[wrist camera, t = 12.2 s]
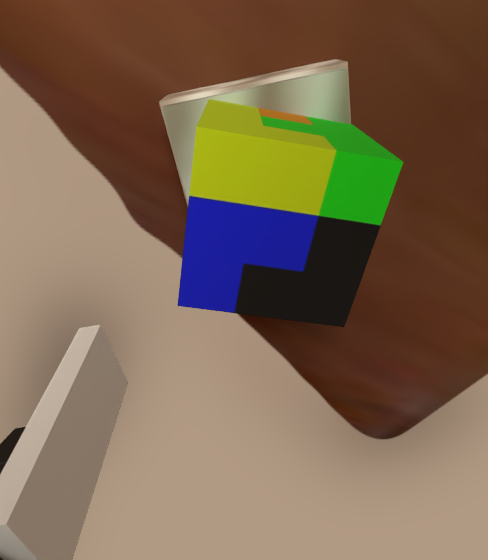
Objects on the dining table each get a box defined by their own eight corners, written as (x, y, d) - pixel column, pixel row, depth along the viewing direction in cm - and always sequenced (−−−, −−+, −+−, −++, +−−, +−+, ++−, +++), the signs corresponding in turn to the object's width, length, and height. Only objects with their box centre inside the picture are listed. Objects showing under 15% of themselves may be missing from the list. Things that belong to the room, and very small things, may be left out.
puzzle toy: (193, 234, 32) (177, 305, 24) (208, 98, 27) (196, 126, 19) (316, 252, 33) (343, 326, 25) (352, 124, 28) (403, 161, 20)
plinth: (335, 59, 31) (351, 62, 27) (346, 218, 37) (360, 242, 33) (167, 94, 32) (156, 103, 28) (206, 244, 38) (202, 270, 34)
